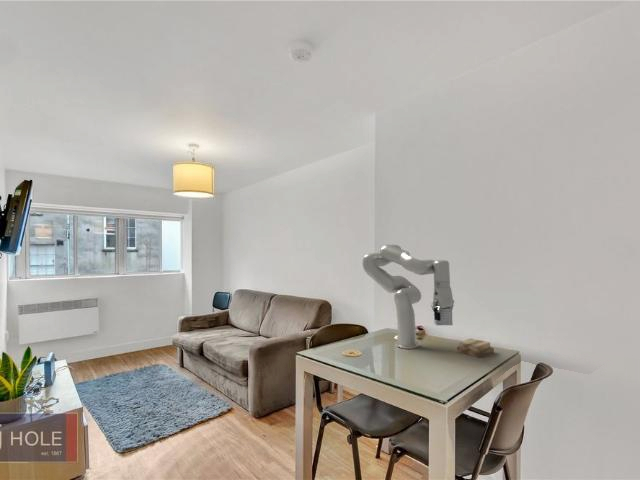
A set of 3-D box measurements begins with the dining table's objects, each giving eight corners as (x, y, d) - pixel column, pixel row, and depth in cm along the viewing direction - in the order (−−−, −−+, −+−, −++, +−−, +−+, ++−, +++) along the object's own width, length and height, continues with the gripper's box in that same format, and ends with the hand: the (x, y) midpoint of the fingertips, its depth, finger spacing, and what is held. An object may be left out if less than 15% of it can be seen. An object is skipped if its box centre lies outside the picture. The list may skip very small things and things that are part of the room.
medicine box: (450, 323, 164) (449, 306, 164) (452, 325, 160) (452, 308, 160) (434, 323, 165) (433, 306, 165) (436, 325, 160) (435, 308, 161)
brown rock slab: (457, 352, 163) (456, 342, 163) (471, 347, 169) (470, 337, 169) (480, 357, 152) (479, 347, 153) (493, 352, 159) (493, 342, 159)
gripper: (437, 286, 155) (438, 322, 154) (459, 283, 164) (460, 317, 164) (424, 285, 161) (426, 320, 161) (446, 282, 170) (447, 315, 170)
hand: (443, 318), depth 162 cm, fingers closed on medicine box, 8 cm apart
